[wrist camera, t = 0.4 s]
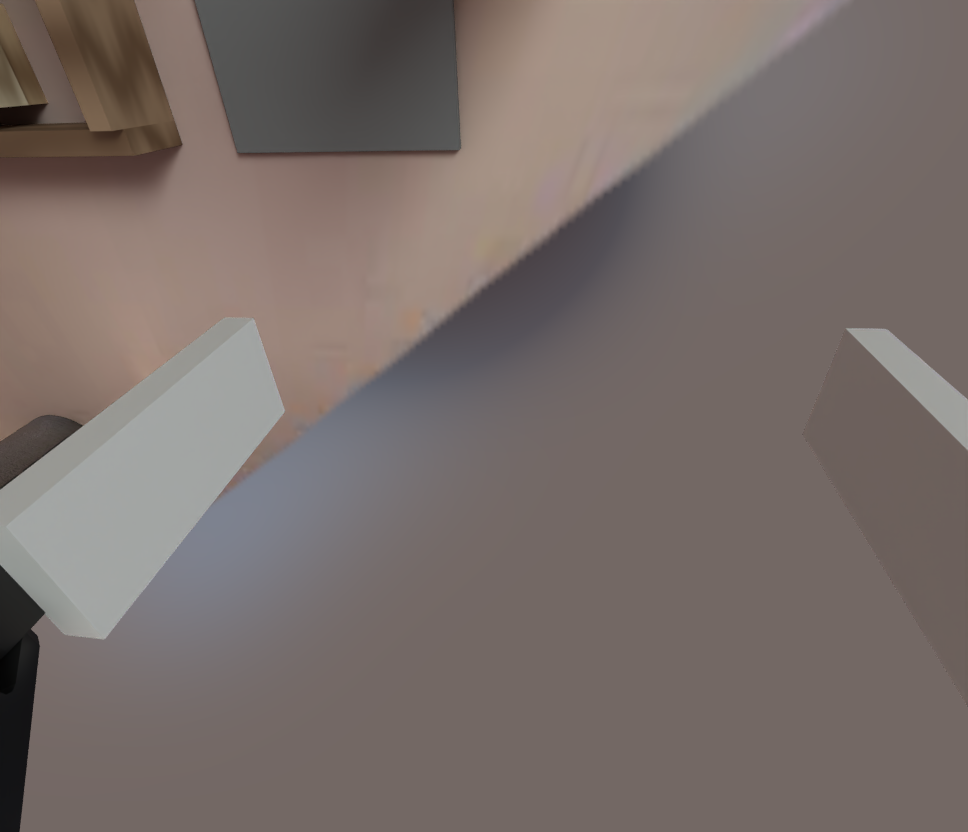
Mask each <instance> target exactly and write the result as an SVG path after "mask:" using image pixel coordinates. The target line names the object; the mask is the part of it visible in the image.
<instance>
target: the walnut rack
mask: <svg viewBox="0 0 968 832" xmlns="http://www.w3.org/2000/svg"><path fill="white" fill-rule="evenodd" d="M35 2H36V5H37V7H38V9H39V12H40V14H41V16H42V19H43V21H44V23H45V26H46V28H47V30H48V33H49V35H50V38H51V40H52V42H53V45H54V47H55V49H56V52H57V54H58V56H59V59H60V61H61V63H62V66H63V68H64V71H65V73H66V75H67V78H68V80H69V82H70V85H71V87H72V89H73V92H74V94H75V96H76V99H77V101H78V104H79V106H80V108H81V111H82V113H83V115H84V118H85V120H86V122H87V123H57V124H14V125H0V157H75V156H135V155H139V154H144V153H148V152H153V151H157V150H161V149H166V148H170V147H174V146H179V145H182V142H181V139H180V136H179V133H178V130H177V127H176V124H175V121H174V118H173V115H172V112H171V109H170V106H169V103H168V100H167V98H166V95H165V92H164V89H163V86H162V83H161V80H160V77H159V74H158V71H157V68H156V65H155V62H154V59H153V56H152V53H151V50H150V47H149V44H148V41H147V38H146V35H145V32H144V29H143V26H142V23H141V20H140V17H139V14H138V11H137V8H136V5H135V2H134V0H35Z"/></svg>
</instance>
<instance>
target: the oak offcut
mask: <svg viewBox="0 0 968 832" xmlns="http://www.w3.org/2000/svg"><path fill="white" fill-rule="evenodd" d="M0 45H1V47H2V49H3V51H4V53H5V55H6V58H7V60H8V62H9V64H10V66H11V68H12V70H13V72H14V75H15V77H16V79H17V81H18V83H19V85H20V87H21V90H22V92H23V94H24V96H25V98H26V100H27V102H28V104H29V105H34V104H45V103H48V102H47V100H46V98H45V95H44V93H43V91H42V89H41V87H40V85H39V82H38V80H37V78H36V76H35V74H34V71H33V69H32V67H31V65H30V63H29V60H28V58H27V56H26V54H25V52H24V49H23V47H22V45H21V43H20V41H19V38H18V36H17V34H16V32H15V30H14V27H13V25H12V23H11V21H10V19H9V16H8V14H7V12H6V10H5V8H4V5H3V4H0Z"/></svg>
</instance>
